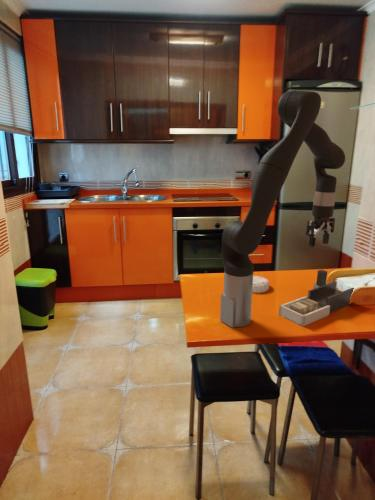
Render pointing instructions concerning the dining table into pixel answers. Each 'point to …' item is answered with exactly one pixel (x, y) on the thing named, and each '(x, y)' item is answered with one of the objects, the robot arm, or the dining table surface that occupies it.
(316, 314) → the tray
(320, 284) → the scraper tool
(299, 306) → the chip
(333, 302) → the slot block
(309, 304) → the chip
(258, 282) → the mooncake
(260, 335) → the dining table surface
